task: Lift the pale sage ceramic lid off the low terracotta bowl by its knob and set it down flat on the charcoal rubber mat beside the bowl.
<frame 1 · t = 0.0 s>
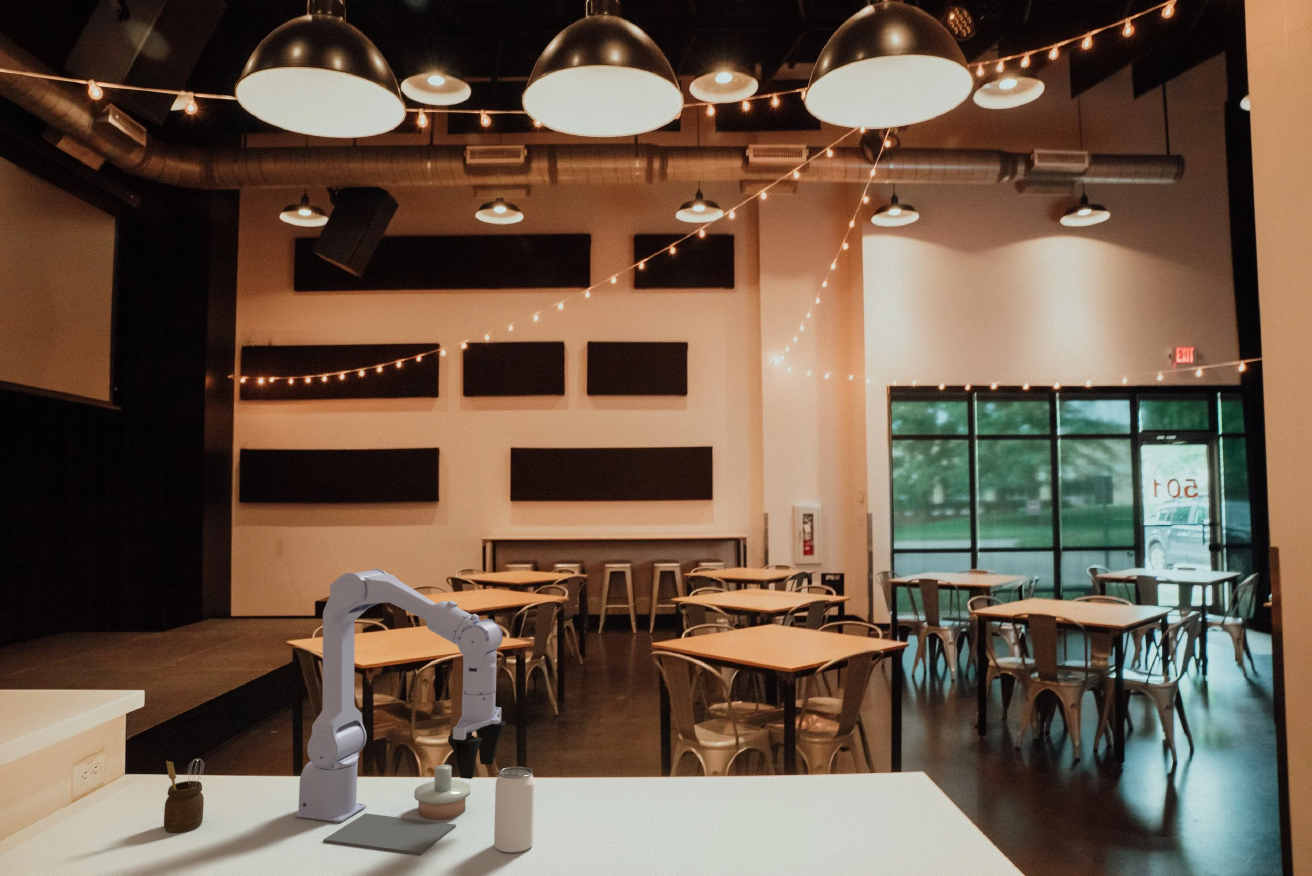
hand: (476, 770, 145), 10 cm above the counter, fingers open, 7 cm apart
mat: (391, 833, 142), on the counter
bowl: (441, 810, 153), on the counter
utensil holder: (182, 828, 144), on the counter
can: (513, 847, 138), on the counter
lid: (442, 793, 154), point 3 cm above the counter, touching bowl
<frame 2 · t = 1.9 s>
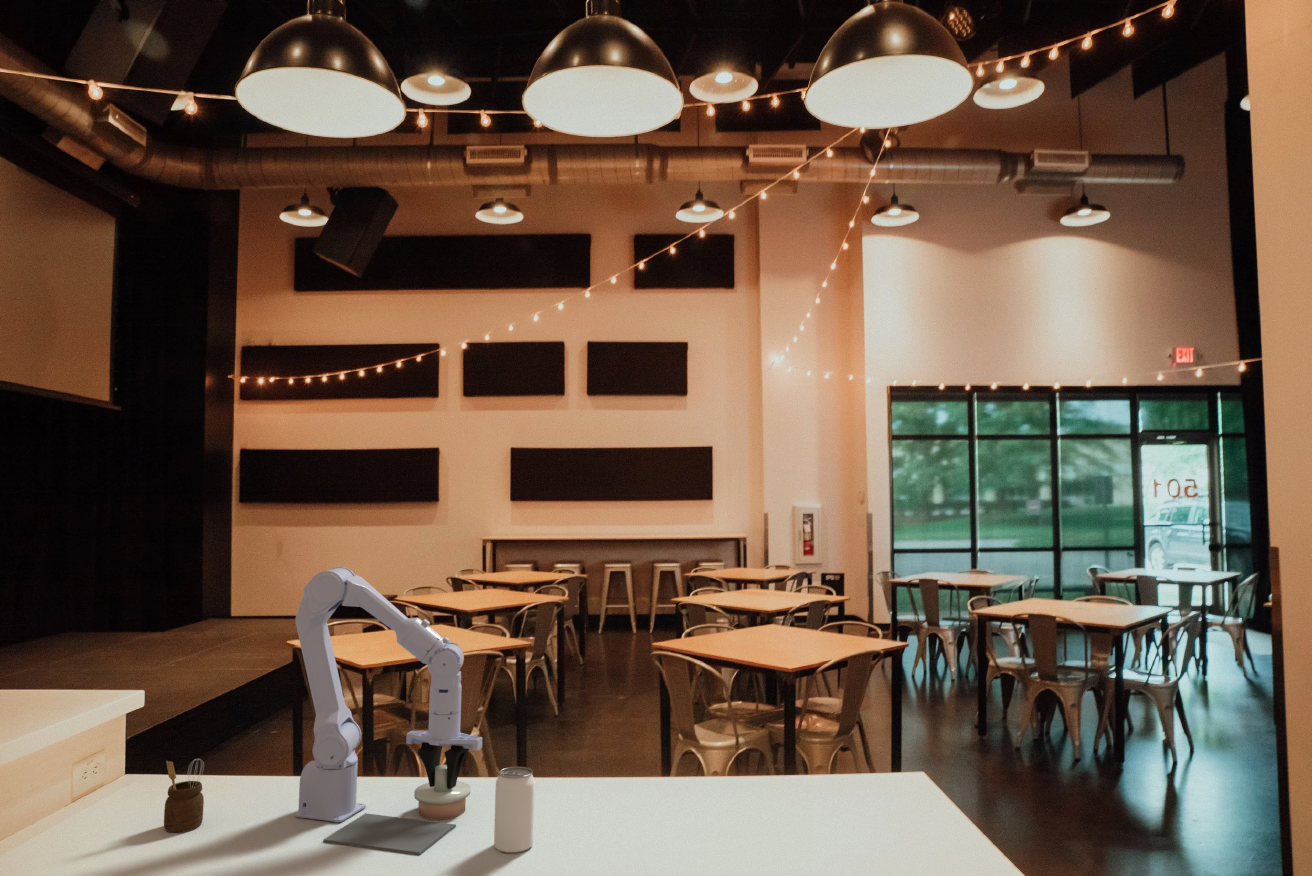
hand: (442, 786, 154), 4 cm above the counter, fingers closed on lid, 3 cm apart
lid: (442, 793, 154), point 3 cm above the counter, touching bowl, gripper
everything else where it was.
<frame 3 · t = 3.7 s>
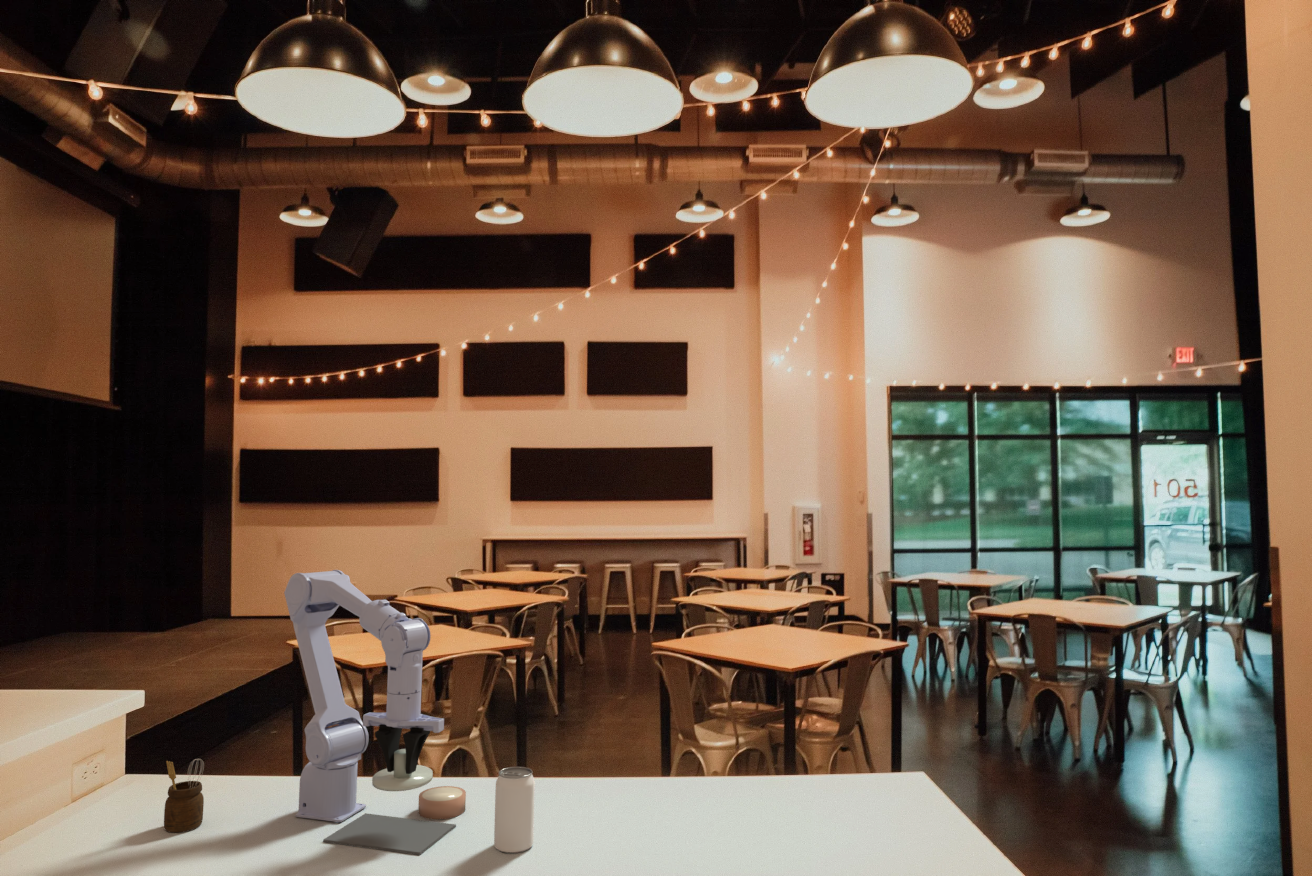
hand: (401, 770, 144), 10 cm above the counter, fingers closed on lid, 3 cm apart
lid: (402, 779, 144), point 9 cm above the counter, touching gripper
everything else where it was.
when the fingers open (3 cm above the counter, at t = 5.5 s): lid drops 1 cm, resting on mat.
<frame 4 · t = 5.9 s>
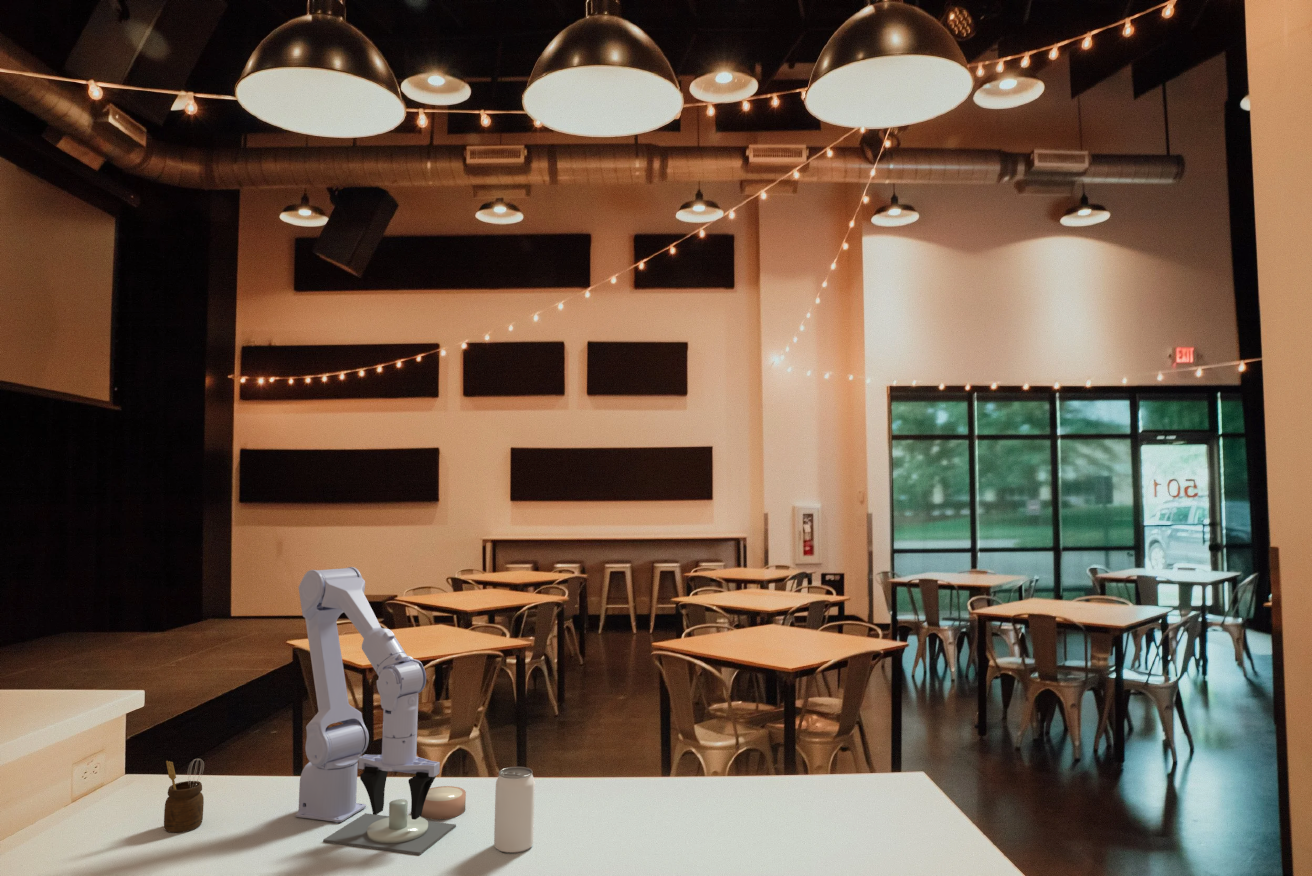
hand: (397, 814, 142), 3 cm above the counter, fingers open, 7 cm apart
lid: (397, 830, 143), resting on mat
everything else where it was.
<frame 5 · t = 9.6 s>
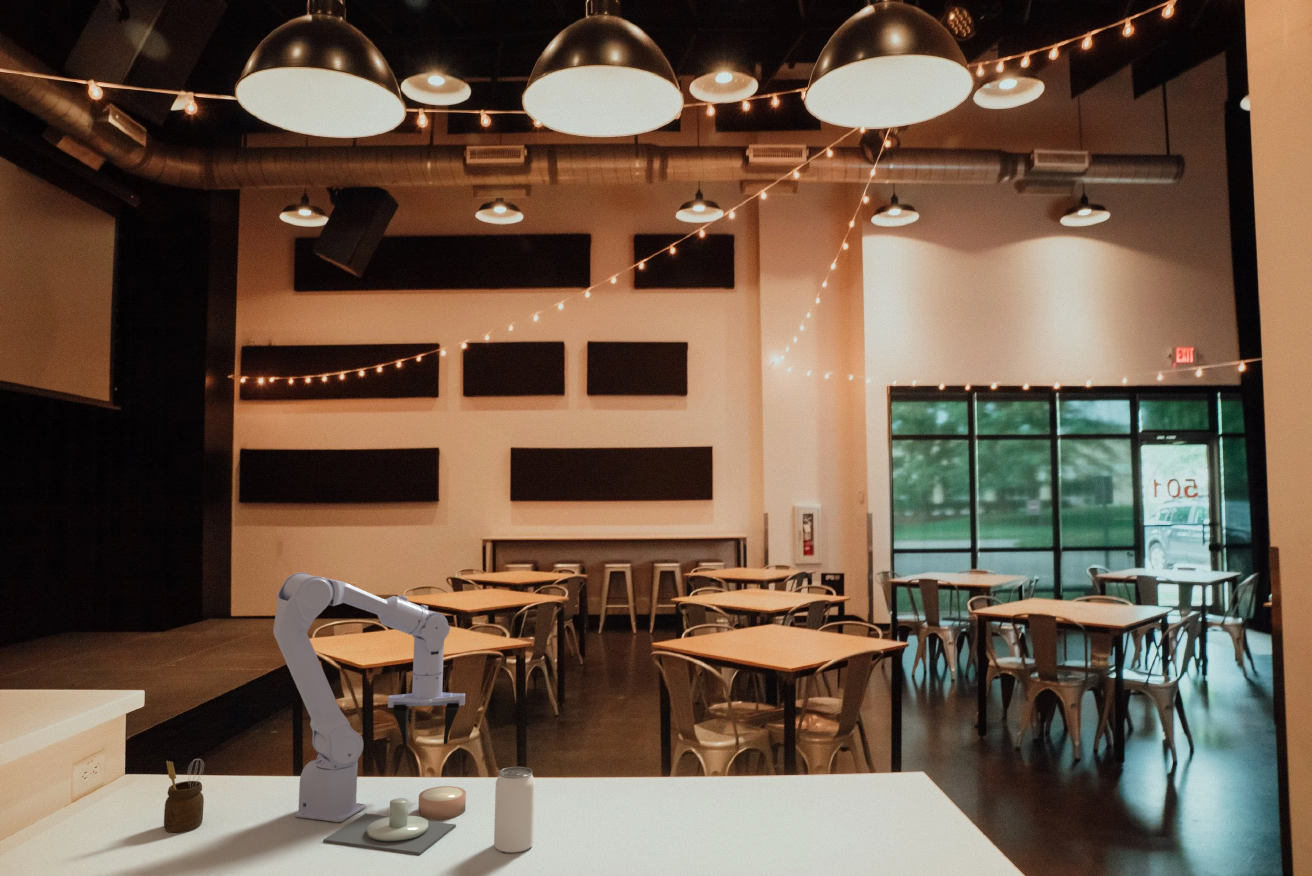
hand: (425, 743, 163), 9 cm above the counter, fingers open, 7 cm apart
nothing on the counter moved.
at the end: lid inside the target area on the mat (1.1 cm from its centre), point 0.6 cm above the mat's base; lid tilted 3°; the gripper is holding nothing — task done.
